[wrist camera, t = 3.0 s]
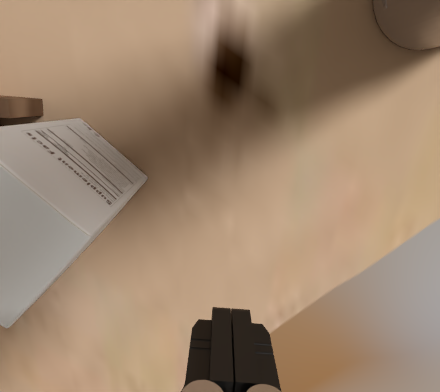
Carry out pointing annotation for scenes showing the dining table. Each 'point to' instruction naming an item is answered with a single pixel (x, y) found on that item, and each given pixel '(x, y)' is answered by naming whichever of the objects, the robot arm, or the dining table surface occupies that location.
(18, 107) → the brown wooden box
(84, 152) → the supplement box
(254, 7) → the dining table surface
